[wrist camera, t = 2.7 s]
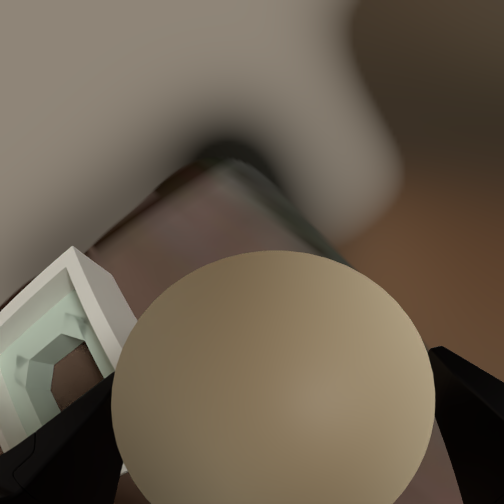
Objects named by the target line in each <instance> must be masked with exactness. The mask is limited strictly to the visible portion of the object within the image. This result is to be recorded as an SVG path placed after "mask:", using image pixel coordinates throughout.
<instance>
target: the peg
mask: <svg viewBox="0 0 504 504" xmlns="http://www.w3.org/2000/svg"><path fill="white" fill-rule="evenodd" d="M111 411H112V423H113V429H114V434H115V438H116V443H117V446H118V449H119V452H120V455H121V457H122V460H123V462H124V465H125V467H126V468H127V470H128V472H129V474H130V476H131V478H132V480H133V481H134V483H135V484H136V486H137V487H138V488H139V490H140V491H141V492H142V494H143V495H144V496H145V498H146V499H147V500H148V501H149V502H150V503H151V504H393V503H394V501H395V500H396V499H397V498H398V497H399V496H400V495H401V493H402V492H403V491H404V490H405V488H406V487H407V485H408V484H409V482H410V481H411V479H412V478H413V476H414V475H415V473H416V471H417V469H418V467H419V465H420V463H421V461H422V459H423V457H424V455H425V452H426V449H427V446H428V443H429V440H430V437H431V433H432V427H433V421H434V415H435V387H434V379H433V372H432V368H431V364H430V361H429V357H428V353H427V351H426V349H425V346H424V344H423V342H422V339H421V337H420V335H419V333H418V331H417V330H416V328H415V327H414V325H413V323H412V321H411V320H410V318H409V317H408V315H407V314H406V313H405V312H404V310H403V309H402V308H401V307H400V306H399V305H398V303H397V302H396V301H395V300H394V299H393V298H392V297H391V296H390V295H389V294H388V293H386V292H385V290H383V289H382V288H381V287H380V286H378V285H377V284H376V283H374V282H373V281H372V280H370V279H369V278H367V277H366V276H364V275H363V274H361V273H359V272H357V271H355V270H353V269H352V268H350V267H348V266H346V265H343V264H341V263H338V262H335V261H333V260H330V259H328V258H324V257H320V256H316V255H312V254H308V253H300V252H292V251H259V252H251V253H243V254H239V255H235V256H231V257H227V258H223V259H221V260H218V261H216V262H213V263H210V264H208V265H205V266H203V267H201V268H199V269H197V270H195V271H194V272H192V273H190V274H188V275H186V276H185V277H183V278H182V279H180V280H179V281H177V282H176V283H174V284H173V285H172V286H170V287H169V288H168V289H167V290H166V291H164V292H163V293H162V294H161V295H160V296H159V297H158V298H157V299H156V300H154V302H153V303H152V304H151V305H150V306H149V307H148V309H147V310H146V311H145V312H144V313H143V314H142V316H141V317H140V318H139V320H138V321H137V323H136V325H135V326H134V328H133V329H132V331H131V332H130V334H129V336H128V338H127V340H126V342H125V344H124V346H123V349H122V351H121V354H120V357H119V360H118V363H117V366H116V369H115V375H114V380H113V385H112V399H111Z"/></svg>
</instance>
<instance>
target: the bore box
mask: <svg viewBox="0 0 504 504" xmlns="http://www.w3.org/2000/svg"><path fill="white" fill-rule="evenodd" d="M136 323H137V320H136V318H135V316H134V314H133V313H132V311H131V309H130V307H129V305H128V304H127V302H126V300H125V298H124V296H123V295H122V293H121V291H120V289H119V287H118V285H117V284H116V282H115V280H114V278H113V276H112V275H111V274H110V273H109V272H107V271H106V270H104V269H103V268H102V267H100V266H99V265H98V264H96V263H95V262H93V261H92V260H91V259H89V258H88V257H87V256H85V255H84V254H83V253H81V252H80V251H79V250H77V249H76V248H75V247H73V246H72V247H70V248H69V249H68V250H67V251H66V252H65V253H63V254H62V255H61V256H60V257H59V258H58V259H56V260H55V261H54V262H53V263H52V264H51V265H50V266H48V267H47V268H46V269H45V270H44V271H43V272H42V273H41V274H39V275H38V276H37V277H36V278H35V279H34V280H33V281H32V282H31V283H30V284H29V285H28V286H26V287H25V288H24V289H23V290H22V291H21V292H20V293H19V294H18V295H17V296H16V297H15V298H14V299H13V300H12V301H11V302H10V303H9V304H8V305H7V306H6V307H5V308H4V309H3V310H2V311H1V312H0V446H1V448H2V450H3V453H5V452H7V451H8V450H10V449H11V448H13V447H14V446H16V445H17V444H19V443H20V442H22V441H23V440H24V439H26V438H27V437H29V436H30V435H31V434H32V433H34V432H36V431H37V430H38V429H39V428H40V427H42V426H43V425H44V424H46V423H47V422H48V421H50V420H51V419H52V418H54V417H55V416H56V415H58V414H59V413H60V412H61V411H60V409H59V407H58V405H57V403H56V401H55V399H54V397H53V395H52V393H51V383H52V376H53V369H54V365H55V364H56V363H57V362H59V361H60V360H61V359H62V358H64V357H65V356H66V355H67V354H69V353H70V352H71V351H72V350H74V349H75V348H76V347H78V346H79V345H80V344H81V343H83V342H84V341H85V342H86V344H87V346H88V348H89V350H90V352H91V354H92V356H93V358H94V360H95V362H96V364H97V366H98V368H99V370H100V372H101V373H102V375H103V377H104V378H106V377H107V376H108V375H110V374H111V373H112V372H115V369H116V366H117V363H118V360H119V357H120V354H121V351H122V349H123V346H124V344H125V342H126V340H127V338H128V336H129V334H130V332H131V331H132V329H133V328H134V326H135V325H136ZM127 472H128V470H127V468H126V467H125V465H124V462H123V466H122V470H121V474H120V476H121V475H123V474H125V473H127Z"/></svg>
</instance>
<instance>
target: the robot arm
mask: <svg viewBox="0 0 504 504" xmlns="http://www.w3.org/2000/svg"><path fill="white" fill-rule="evenodd" d="M428 357H429V361H430V364H431V368H432V372H433V379H434V387H435V418H436V421H437V424H438V426H439V429H440V432H441V435H442V437H443V440H444V443H445V446H446V449H447V452H448V455H449V458H450V461H451V464H452V467H453V470H454V473H455V476H456V480H457V483H458V486H459V490H460V493H461V497H462V500H463V504H504V382H502V381H500V380H499V379H497V378H495V377H494V376H492V375H490V374H489V373H487V372H485V371H484V370H482V369H480V368H479V367H477V366H475V365H474V364H472V363H470V362H469V361H467V360H465V359H464V358H462V357H460V356H459V355H457V354H455V353H453V352H452V351H450V350H448V349H447V348H445V347H443V346H438V347H434V348H431V349H430V350H429V352H428ZM114 375H115V372H112V373H111V374H110V375H108V376H107V377H106V378H104V379H103V380H102V381H101V382H99V383H98V384H97V385H95V386H94V387H93V388H92V389H90V390H89V391H88V392H86V393H85V394H84V395H82V396H81V397H80V398H78V399H77V400H76V401H75V402H73V403H72V404H71V405H69V406H68V407H67V408H65V409H64V410H63V411H62V412H60V413H59V414H58V415H56V416H55V417H54V418H52V419H51V420H50V421H48V422H47V423H46V424H44V425H43V426H42V427H40V428H39V429H38V430H37V431H36V432H34V433H32V434H31V435H30V436H29V437H27V438H26V439H24V440H23V441H22V442H20V443H19V444H17V445H16V446H14V447H13V448H11V449H10V450H8V451H7V452H5V453H3V454H2V455H0V504H113V503H114V499H115V494H116V490H117V486H118V482H119V478H120V474H121V470H122V466H123V460H122V457H121V455H120V452H119V449H118V446H117V443H116V438H115V434H114V429H113V423H112V411H111V399H112V385H113V380H114Z"/></svg>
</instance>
